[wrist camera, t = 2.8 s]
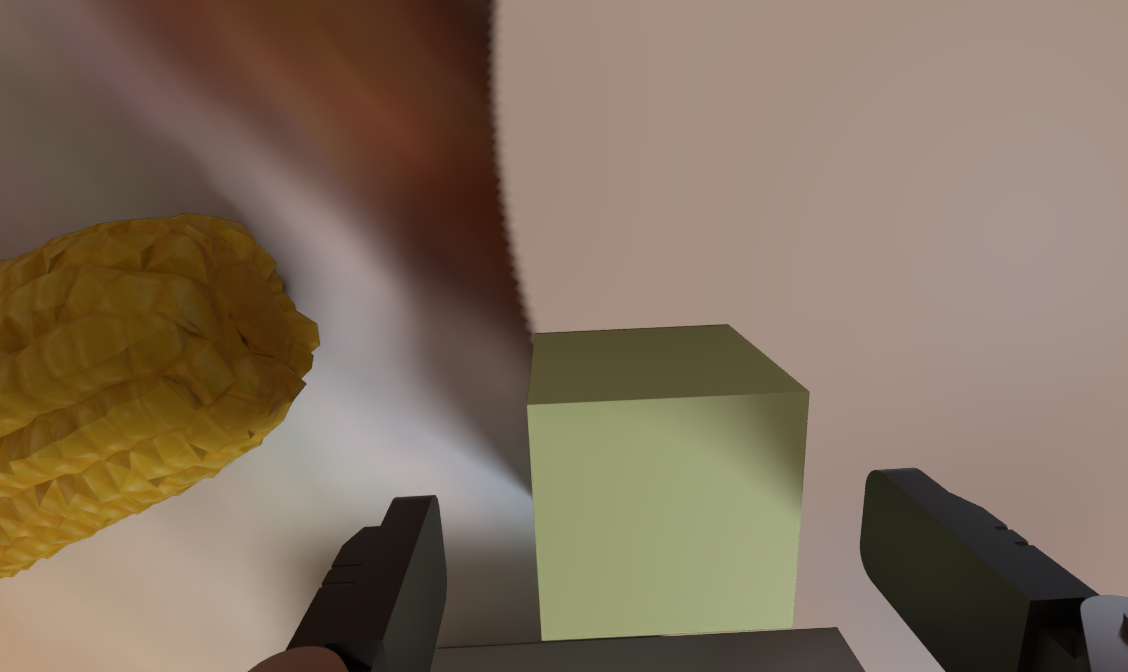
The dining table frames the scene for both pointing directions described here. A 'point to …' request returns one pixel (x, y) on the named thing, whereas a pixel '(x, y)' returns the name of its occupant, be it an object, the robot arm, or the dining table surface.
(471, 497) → the dining table surface
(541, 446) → the green block
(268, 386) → the food
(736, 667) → the bin
